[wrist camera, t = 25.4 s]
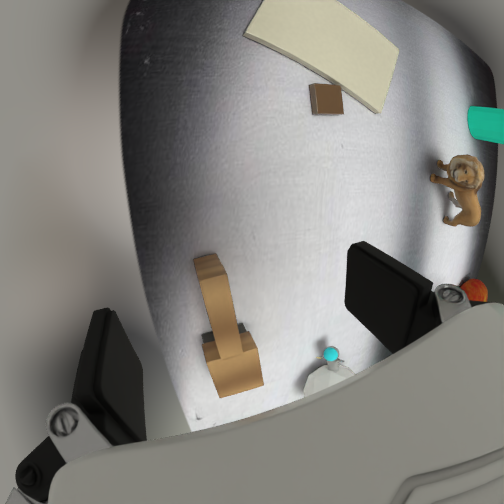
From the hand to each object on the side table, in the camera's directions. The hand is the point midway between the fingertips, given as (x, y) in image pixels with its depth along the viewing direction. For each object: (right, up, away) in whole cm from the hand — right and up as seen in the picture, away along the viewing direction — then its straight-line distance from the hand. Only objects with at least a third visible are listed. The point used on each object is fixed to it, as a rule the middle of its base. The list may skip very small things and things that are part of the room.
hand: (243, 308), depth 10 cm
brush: (-3, -5, +18) cm, 18 cm away
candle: (+38, +24, +20) cm, 49 cm away
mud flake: (+7, +17, +13) cm, 22 cm away
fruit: (+44, -5, +34) cm, 56 cm away
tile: (+8, +23, +10) cm, 27 cm away
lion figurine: (+27, +11, +21) cm, 36 cm away
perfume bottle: (+10, -14, +26) cm, 31 cm away
